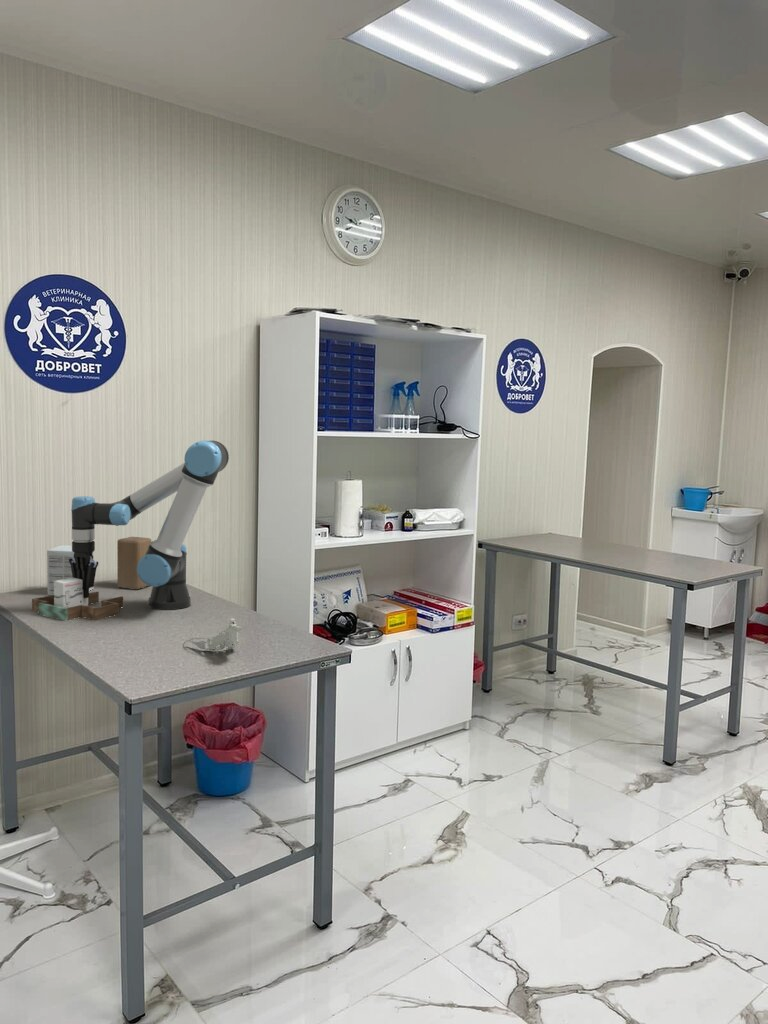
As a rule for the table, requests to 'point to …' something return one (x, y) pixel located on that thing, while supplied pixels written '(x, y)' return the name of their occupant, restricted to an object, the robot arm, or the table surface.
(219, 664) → the table surface
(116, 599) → the brown wooden tray
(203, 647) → the bird figurine
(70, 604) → the ink box
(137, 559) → the block
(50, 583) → the supplement box
